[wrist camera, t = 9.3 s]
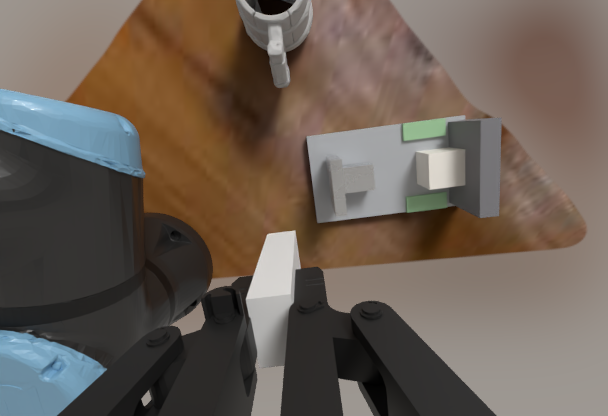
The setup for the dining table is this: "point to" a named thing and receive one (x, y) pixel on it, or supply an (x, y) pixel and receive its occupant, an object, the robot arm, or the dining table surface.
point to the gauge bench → (410, 167)
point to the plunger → (347, 181)
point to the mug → (277, 32)
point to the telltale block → (440, 168)
